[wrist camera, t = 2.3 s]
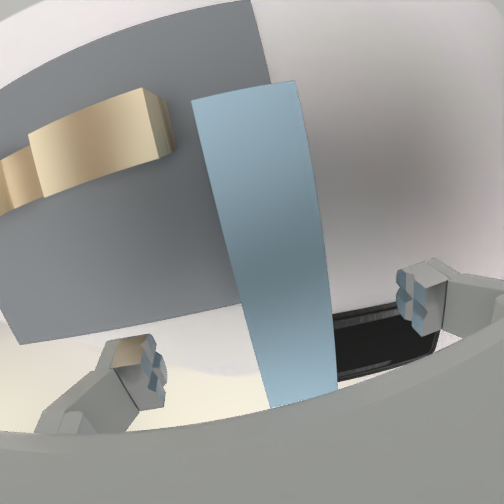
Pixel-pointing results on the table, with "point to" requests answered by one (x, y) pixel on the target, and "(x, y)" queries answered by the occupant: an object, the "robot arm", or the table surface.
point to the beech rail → (87, 147)
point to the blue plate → (272, 234)
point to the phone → (377, 341)
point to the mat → (126, 184)
